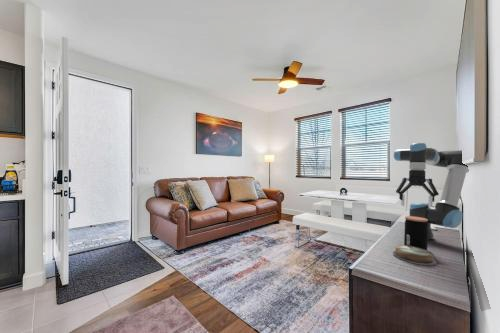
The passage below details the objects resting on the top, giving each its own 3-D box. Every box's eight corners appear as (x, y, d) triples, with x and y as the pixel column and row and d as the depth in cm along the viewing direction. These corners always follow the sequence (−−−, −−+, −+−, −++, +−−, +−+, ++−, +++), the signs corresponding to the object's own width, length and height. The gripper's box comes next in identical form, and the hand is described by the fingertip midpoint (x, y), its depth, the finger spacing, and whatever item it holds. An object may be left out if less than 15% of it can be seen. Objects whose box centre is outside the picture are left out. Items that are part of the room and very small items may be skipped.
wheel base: (409, 249, 125) (409, 247, 125) (445, 263, 108) (445, 260, 108) (385, 252, 120) (385, 250, 120) (419, 267, 102) (419, 264, 102)
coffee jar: (421, 246, 131) (421, 216, 131) (431, 253, 120) (432, 221, 120) (400, 245, 133) (401, 215, 133) (409, 251, 123) (410, 219, 123)
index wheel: (391, 249, 124) (391, 233, 124) (424, 252, 119) (424, 236, 119) (402, 260, 108) (402, 242, 108) (440, 265, 104) (440, 246, 104)
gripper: (439, 170, 126) (438, 207, 126) (390, 169, 134) (389, 203, 134) (447, 170, 119) (446, 209, 119) (394, 169, 127) (393, 205, 127)
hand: (416, 206), depth 127 cm, fingers open, 13 cm apart
